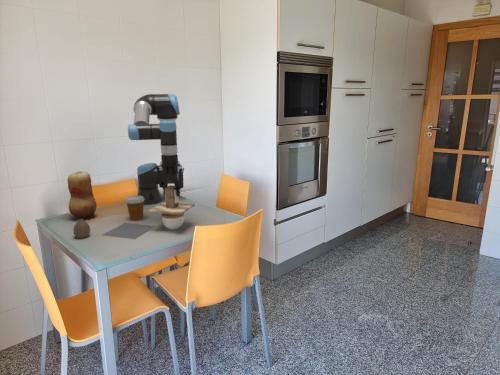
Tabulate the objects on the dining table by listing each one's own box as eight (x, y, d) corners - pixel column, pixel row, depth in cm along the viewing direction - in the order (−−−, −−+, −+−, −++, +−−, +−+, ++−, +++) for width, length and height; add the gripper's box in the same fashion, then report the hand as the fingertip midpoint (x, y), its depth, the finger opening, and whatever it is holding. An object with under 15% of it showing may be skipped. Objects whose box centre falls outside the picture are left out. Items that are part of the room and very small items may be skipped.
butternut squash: (65, 222, 186) (59, 174, 180) (76, 214, 199) (71, 169, 193) (92, 221, 186) (87, 174, 180) (102, 213, 199) (97, 169, 193)
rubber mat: (125, 223, 183) (125, 222, 183) (156, 226, 178) (156, 226, 178) (101, 235, 166) (101, 235, 166) (135, 239, 161) (135, 239, 161)
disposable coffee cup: (123, 220, 187) (121, 198, 184) (136, 215, 195) (134, 194, 192) (136, 223, 183) (134, 200, 180) (149, 218, 191) (148, 196, 188)
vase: (86, 233, 169) (84, 215, 167) (93, 237, 165) (91, 218, 163) (71, 237, 164) (69, 219, 162) (78, 241, 160) (76, 222, 158)
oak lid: (166, 203, 184) (164, 182, 181) (194, 205, 179) (193, 184, 177) (149, 212, 169) (147, 189, 166) (179, 215, 164) (178, 192, 162)
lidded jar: (182, 231, 171) (181, 213, 169) (160, 231, 171) (158, 212, 169) (186, 224, 182) (185, 206, 179) (165, 224, 182) (164, 206, 180)
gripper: (148, 154, 167) (152, 202, 172) (182, 156, 162) (184, 205, 167) (157, 152, 174) (160, 198, 179) (189, 153, 169) (192, 201, 174)
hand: (172, 202), depth 173 cm, fingers open, 4 cm apart
